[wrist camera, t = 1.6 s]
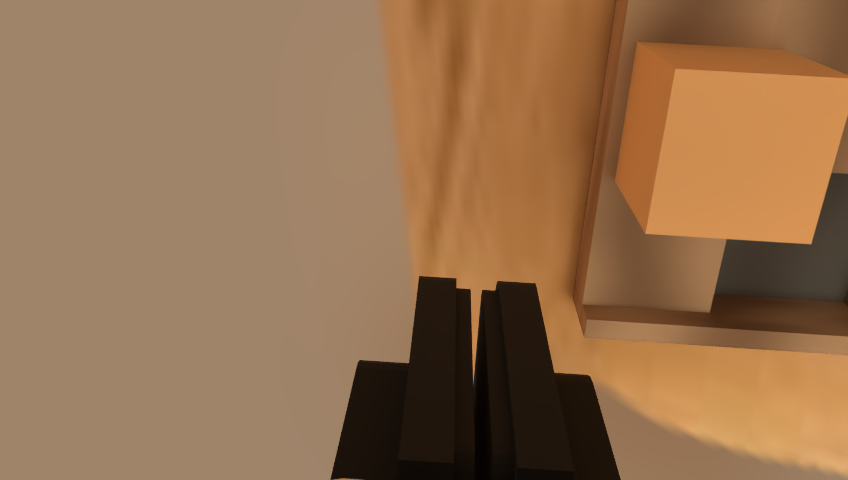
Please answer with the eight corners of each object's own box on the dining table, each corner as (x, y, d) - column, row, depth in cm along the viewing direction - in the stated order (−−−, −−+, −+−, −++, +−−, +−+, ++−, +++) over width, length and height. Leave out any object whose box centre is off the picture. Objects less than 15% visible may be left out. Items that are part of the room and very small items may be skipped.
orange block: (785, 50, 25) (857, 78, 20) (752, 189, 27) (811, 244, 22) (637, 41, 25) (675, 68, 20) (614, 180, 27) (645, 233, 22)
